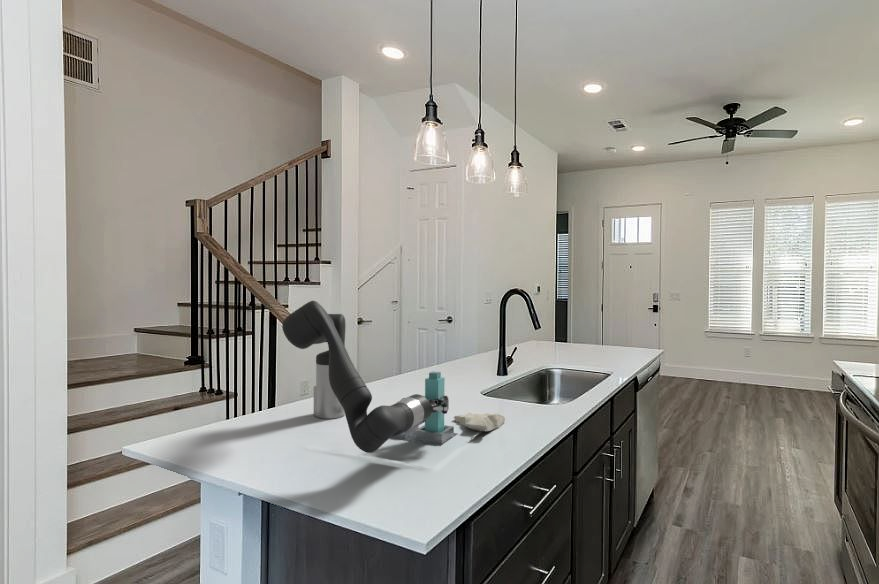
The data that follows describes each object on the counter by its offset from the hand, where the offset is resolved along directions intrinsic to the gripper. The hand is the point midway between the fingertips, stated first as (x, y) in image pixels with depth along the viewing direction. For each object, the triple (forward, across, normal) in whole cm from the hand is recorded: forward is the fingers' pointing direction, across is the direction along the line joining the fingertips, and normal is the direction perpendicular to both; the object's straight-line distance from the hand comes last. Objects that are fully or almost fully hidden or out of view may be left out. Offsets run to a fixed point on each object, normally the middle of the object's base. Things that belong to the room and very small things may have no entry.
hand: (438, 398), depth 146 cm
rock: (+15, -6, +12) cm, 20 cm away
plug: (-3, 0, +9) cm, 9 cm away
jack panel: (-3, +6, +11) cm, 13 cm away
